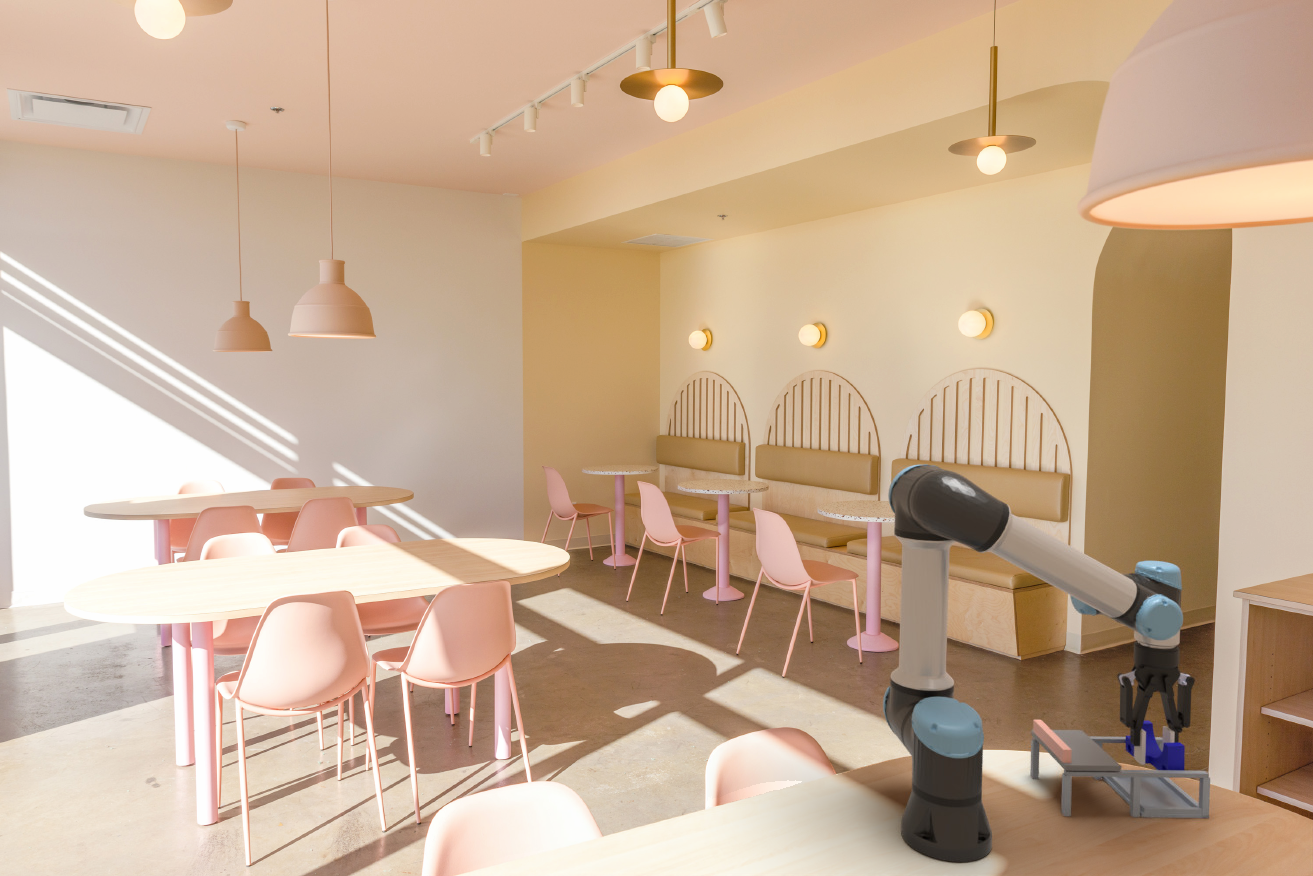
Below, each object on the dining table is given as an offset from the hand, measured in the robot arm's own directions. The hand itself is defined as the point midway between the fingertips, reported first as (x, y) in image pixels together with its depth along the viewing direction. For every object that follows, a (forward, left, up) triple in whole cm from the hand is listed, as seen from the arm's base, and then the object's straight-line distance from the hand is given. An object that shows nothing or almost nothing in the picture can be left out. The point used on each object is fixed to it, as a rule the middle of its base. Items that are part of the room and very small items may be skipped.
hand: (1153, 761), depth 163 cm
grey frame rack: (-7, 0, -7) cm, 10 cm away
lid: (-15, 0, +2) cm, 15 cm away
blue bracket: (0, 0, -1) cm, 1 cm away
